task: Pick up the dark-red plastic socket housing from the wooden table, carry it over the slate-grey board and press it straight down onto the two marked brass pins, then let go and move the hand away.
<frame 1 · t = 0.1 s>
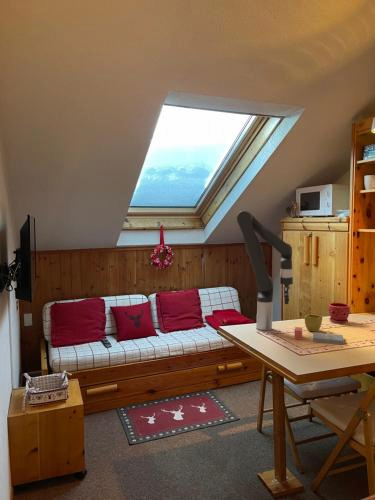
hand: (286, 302, 244), 17 cm above the table, tool pointing down, fingers open, 8 cm apart
socket housing: (298, 337, 229), on the table
plant pot: (338, 322, 266), on the table
pin board: (327, 340, 225), on the table
flower pot: (313, 330, 245), on the table
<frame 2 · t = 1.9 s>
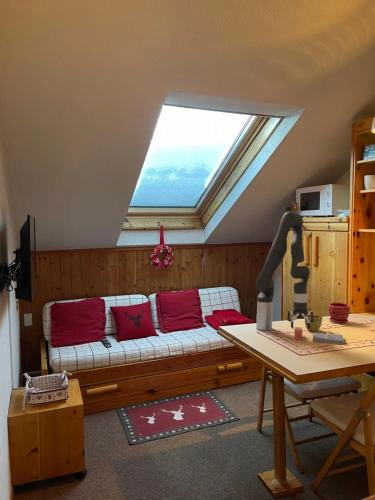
hand: (300, 328, 230), 5 cm above the table, tool pointing down, fingers open, 8 cm apart
nothing on the table moved.
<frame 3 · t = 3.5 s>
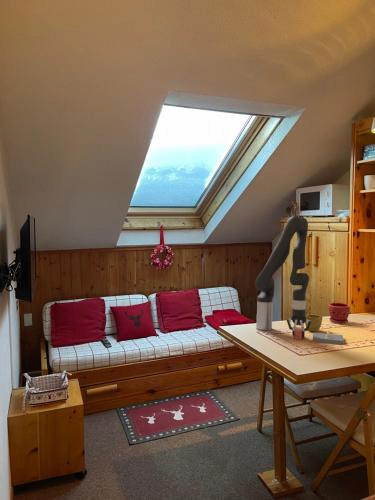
hand: (298, 337, 229), 0 cm above the table, tool pointing down, fingers closed on socket housing, 4 cm apart
socket housing: (298, 337, 229), on the table, touching gripper
everything else where it was.
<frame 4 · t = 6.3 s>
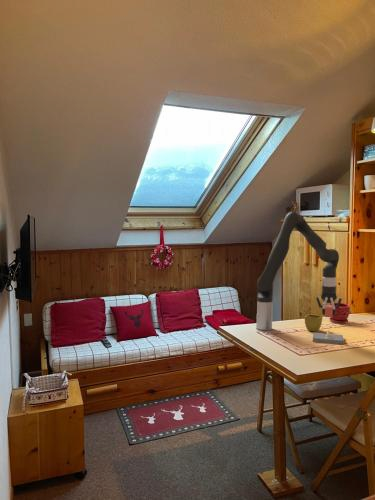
hand: (328, 315, 224), 14 cm above the table, tool pointing down, fingers closed on socket housing, 4 cm apart
socket housing: (328, 315, 224), point 14 cm above the table, touching gripper
everything else where it was.
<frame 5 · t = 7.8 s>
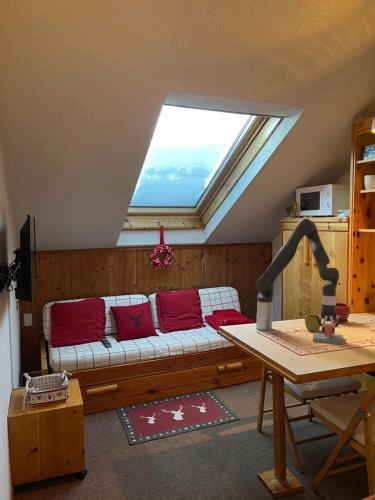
hand: (328, 333, 224), 4 cm above the table, tool pointing down, fingers closed on socket housing, 4 cm apart
socket housing: (328, 333, 224), point 4 cm above the table, touching gripper
everything else where it was.
when the fingers open (3 cm above the table, at t = 9.1 s): socket housing stays where it is, resting on pin board.
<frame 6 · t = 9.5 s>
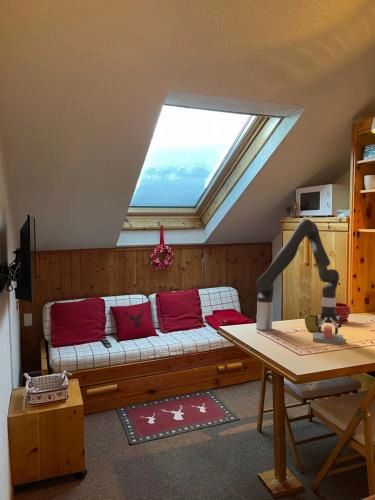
hand: (328, 333, 224), 4 cm above the table, tool pointing down, fingers open, 7 cm apart
socket housing: (327, 336, 224), point 2 cm above the table, touching pin board
everything else where it was.
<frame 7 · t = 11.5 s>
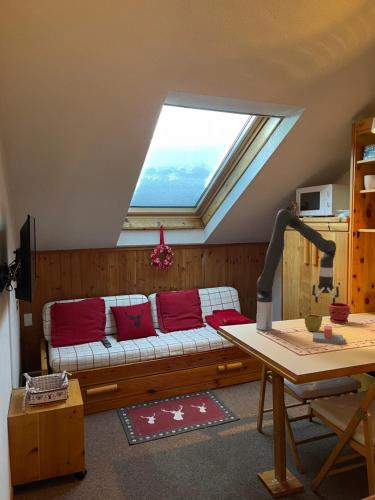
hand: (324, 303, 227), 20 cm above the table, tool pointing down, fingers open, 8 cm apart
nothing on the table moved.
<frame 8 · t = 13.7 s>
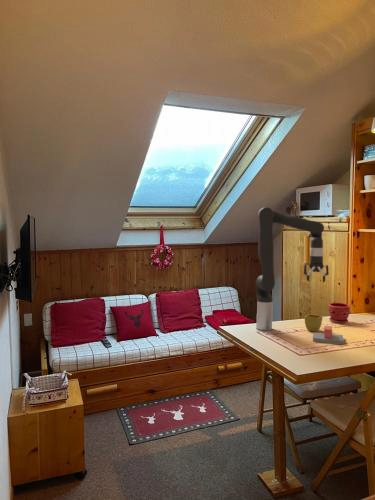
hand: (315, 281, 243), 30 cm above the table, tool pointing down, fingers open, 8 cm apart
nothing on the table moved.
at the end: socket housing 0.0 cm off-centre on the pin board, point 2.0 cm above the pin board's base; socket housing tilted 0°; the gripper is holding nothing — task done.
